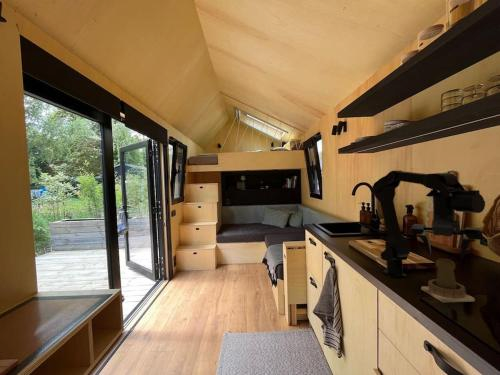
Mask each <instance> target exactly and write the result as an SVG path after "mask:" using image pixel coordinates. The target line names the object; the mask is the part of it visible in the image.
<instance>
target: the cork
mask: <svg viewBox="0 0 500 375" xmlns="http://www.w3.org/2000/svg"><path fill="white" fill-rule="evenodd" d="M435 266H436V268H437V274H436V279H437V281H436V286H438V287H441V288H445V289H457V286H456V276H455V272H454V270H456V262H454V261H453V260H452V259H449V258H438V259H436V261H435Z"/></svg>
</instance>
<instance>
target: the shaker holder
mask: <svg viewBox="0 0 500 375" xmlns="http://www.w3.org/2000/svg"><path fill="white" fill-rule="evenodd" d="M436 281H437V278H435V279H434V278H433V279H432V278H431V279H430V280H428V282H427V283H428V284H427V285H428V286H424V285H423V286H421V288H420V290H422V291H423V292H425V293H427V294H428V295H430V296H431V297H433V298H435V299H436V300H438V301H440V302H441V303H466V302H468V303H469V302H470V303H471V302H475V297H473V296H471V295H469V294H467V292H466V291H467V290H466V287H465V285H463V284H461V283H459V282H456V286H457V289H445V288H441V287H438V286H436Z"/></svg>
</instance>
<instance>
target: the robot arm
mask: <svg viewBox="0 0 500 375" xmlns="http://www.w3.org/2000/svg"><path fill="white" fill-rule="evenodd" d="M401 182H404V183H409V184H410V183H411V184H417V185H421V186H424V187H425V188H427V189H430V192H428V193H427V194H426V195H425V196H426V197H429V198H430V197H431V198H432V212H433V213H432V215H433V218H432V222H431V225H432V226H431V227H430V226H427V225H426V224H421V223H419V224H418V223H414V224H412V225H411V226H410V227H409V228H410V230H409V231H410V234H412V235H416V237H418V238H420V239H421V241H422V242H423V244H424V246H425V248H426V251H427V252H428V256H431V255H432V248H431V240H430V234H429V233H431V234H432V235H434V236H436V237H437V236H445V237H448V238H449V237H452V236H453V235H456V236H463V238H462V241H461V242H462V244H461V250H460V260H463V259H464V256H465V254H466V251H467V248H468V247H469V245H470V243H472V242H474V243H475V242H476V240H478V241H479V240H481V241H482V240H483V236H484V235H483V229H482V228H481V227H469V226H466V227H465V229H462V228H461V224H460V223H461V221H460V220H456V212H459V213H473V214H481V213H483V211H484V210H485V207H486V201H485V199H484V197H483V195H482V194H481V193H480V189H479V190H478V189H475V190H474V189H473V190H467V189H466V188H464V186H463V185H462V184H461V183H460V182H459V180H458V178H457V176H456V175H455V174H454V173H453V172H436V173H435V172H434V173H420V172H411V171H403V170H390V171H389V172H388V173H387V174H386V175H384V176H382V177H380V178H379V179H378V180H377V181H375V182H374V183H373V185H372V186H371V187H372V189H371V190H372V192H373V195H374V197H375V198H376V200H378V201H379V203H380V208H381V212H382V216H383V221H384V225H385V229H386V235H387V237H386V240H385V243H384V244H385V249H384V250H383V251H382V252H381V253H380V258H381V260H383V261H384V262H386V263H385V265H386V270H383V271H382V273H384V274H386V275H387V276H389V277H390V278H401V277H407V276H408V275H407V274H405V273H403V272H404V270H403V269H404V268H403V267H404V265H403V261H404V260H405V261H407V260H408V257H409V255H410V253H411V250H412V248H411V246H410V240H409V239H408V238H404V236H403V235H402V232H401V228H400V223H399V220H398V215H397V211H396V207H395V203H394V199H395V196H396V189H397V188H398V187H399V186H400V184H401Z"/></svg>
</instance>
